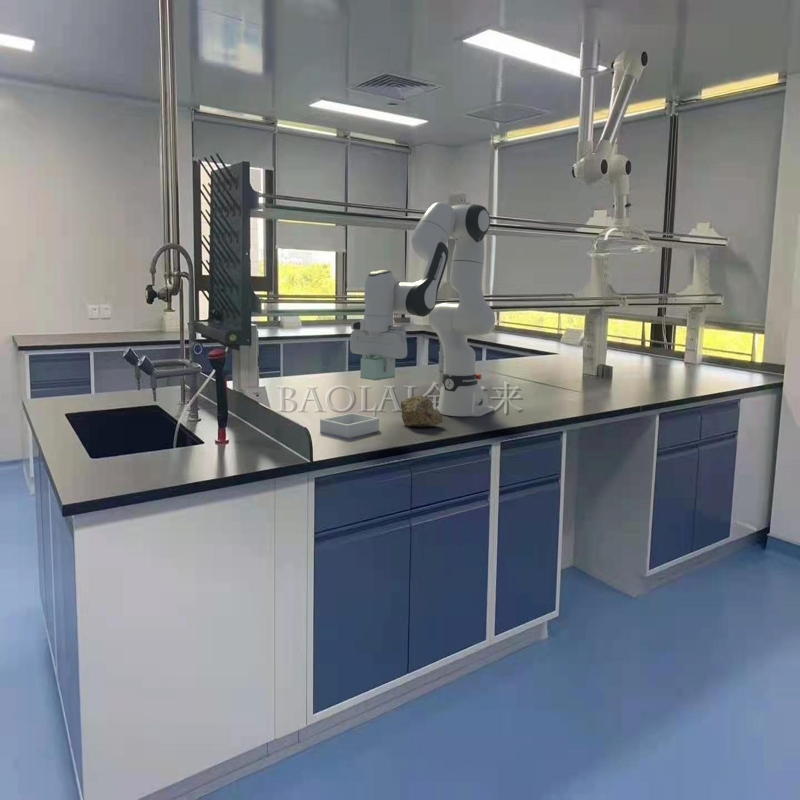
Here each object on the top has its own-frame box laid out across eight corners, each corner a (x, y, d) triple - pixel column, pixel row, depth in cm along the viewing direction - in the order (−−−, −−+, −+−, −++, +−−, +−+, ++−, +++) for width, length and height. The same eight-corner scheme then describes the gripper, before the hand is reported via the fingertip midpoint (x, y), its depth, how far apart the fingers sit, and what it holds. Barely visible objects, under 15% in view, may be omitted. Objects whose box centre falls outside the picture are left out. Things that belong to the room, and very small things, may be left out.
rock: (409, 412, 208) (431, 393, 211) (388, 409, 218) (409, 390, 222) (425, 439, 212) (446, 420, 216) (404, 434, 222) (424, 416, 226)
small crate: (379, 375, 207) (380, 356, 206) (394, 377, 203) (395, 357, 202) (360, 378, 200) (360, 358, 199) (375, 380, 196) (375, 360, 195)
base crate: (351, 424, 217) (351, 412, 216) (379, 430, 209) (379, 418, 208) (320, 432, 206) (320, 419, 206) (347, 438, 199) (347, 425, 198)
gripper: (412, 326, 195) (411, 373, 197) (361, 322, 207) (360, 366, 210) (398, 327, 190) (397, 375, 192) (347, 323, 203) (346, 368, 205)
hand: (377, 370), depth 201 cm, fingers closed on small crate, 6 cm apart
